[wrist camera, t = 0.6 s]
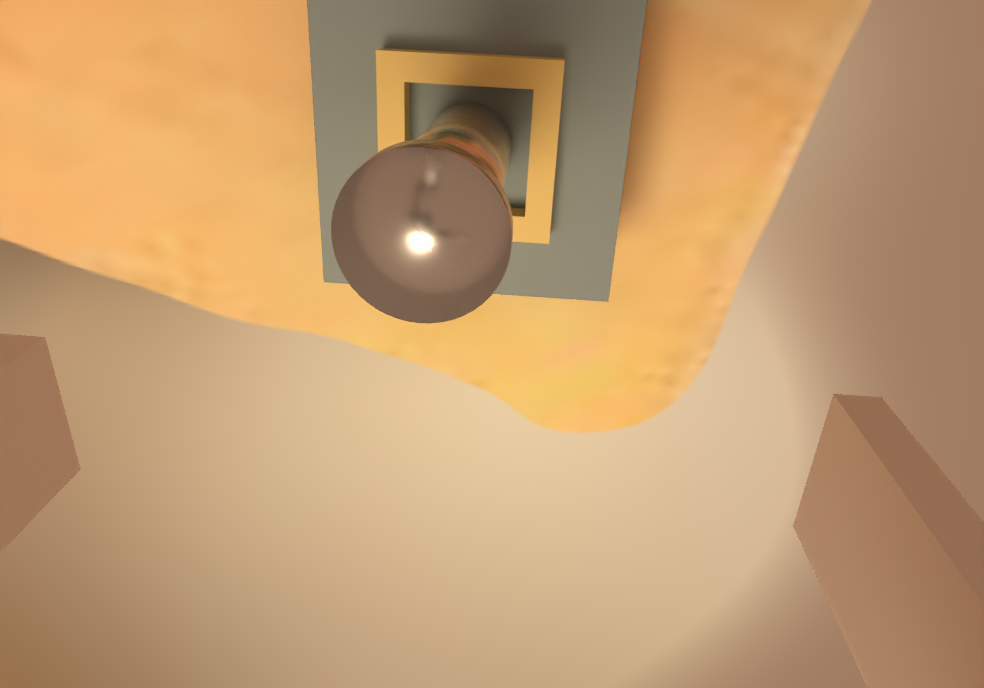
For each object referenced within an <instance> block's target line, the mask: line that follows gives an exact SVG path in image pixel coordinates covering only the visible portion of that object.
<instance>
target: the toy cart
mask: <svg viewBox="0 0 984 688" xmlns="http://www.w3.org/2000/svg"><path fill="white" fill-rule="evenodd" d="M646 4H647V0H307V7H308V24H309V41H310V57H311V74H312V91H313V108H314V125H315V141H316V158H317V175H318V192H319V209H320V225H321V242H322V259H323V276H324V282H330V283H345V284H349V283H348V281H347V280H346V278H345V277H344V275H343V273H342V271H341V269H340V268H339V265H338V263H337V260H336V258H335V254H334V250H333V246H332V238H331V221H332V214H333V209H334V206H335V203H336V200H337V198H338V195H339V193H340V191H341V189H342V188H343V186H344V185H345V183H346V181H347V180H348V179H349V178H350V177H351V175H352V174H353V173H354V172H355V171H356V170H357V169H358V168H359V167H361V166H362V165H363V164H364V163H365V162H366V161H367V160H369V159H370V158H371V157H372V156H373V155H375V154H376V153H378V152H379V151H381V150H383V149H385V148H387V147H389V146H391V145H394V144H397V143H400V142H404V141H410V140H417V139H418V138H419V136H420V135H421V134H422V133H423V132H424V131H425V130H426V129H427V128H428V127H429V126H430V125H431V124H432V123H433V121H434V120H435V119H436V118H437V117H438V116H439V115H440V114H441V113H442V112H443V111H444V110H446V109H447V108H449V107H451V106H453V105H455V104H459V103H464V102H474V103H479V104H483V105H485V106H487V107H489V108H491V109H492V110H494V111H495V112H496V113H497V114H498V115H499V116H500V117H501V118H502V119H503V121H504V122H505V124H506V126H507V128H508V130H509V133H510V137H511V155H510V160H509V164H508V169H507V173H506V178H505V183H504V187H503V189H504V191H505V193H506V195H507V198H508V200H509V204H510V207H511V211H512V217H513V239H512V247H511V254H510V260H509V263H508V267H507V270H506V272H505V274H504V277H503V279H502V281H501V282H500V284H499V286H498V287H497V289H496V290H495V291H494V292H493V294H504V295H519V296H533V297H548V298H562V299H577V300H591V301H606V302H608V300H609V292H610V285H611V277H612V269H613V261H614V254H615V246H616V238H617V230H618V222H619V215H620V207H621V199H622V191H623V184H624V176H625V168H626V160H627V152H628V145H629V137H630V129H631V121H632V113H633V106H634V98H635V90H636V82H637V75H638V67H639V59H640V51H641V43H642V36H643V28H644V20H645V12H646Z"/></svg>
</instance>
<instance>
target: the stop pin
mask: <svg viewBox="0 0 984 688" xmlns="http://www.w3.org/2000/svg"><path fill="white" fill-rule="evenodd" d="M510 155H511V137H510V133H509V130H508V128H507V126H506V124H505V122H504V121H503V119H502V118H501V117H500V116H499V115H498V114H497V113H496V112H495V111H494V110H492V109H491V108H489V107H487V106H485V105H483V104H479V103H474V102H464V103H459V104H455V105H453V106H451V107H449V108H447V109H446V110H444V111H443V112H442V113H441V114H440V115H439V116H438V117H437V118H436V119H435V120H434V121H433V123H432V124H431V125H430V126H429V127H428V128H427V129H426V130H425V131H424V132H423V133H422V134H421V135H420V136H419V138H418V139H417V140H410V141H404V142H400V143H397V144H394V145H391V146H389V147H387V148H385V149H383V150H381V151H379V152H378V153H376V154H375V155H373V156H372V157H371V158H370V159H369V160H367V161H366V162H365V163H364V164H363V165H362V166H361V167H359V168H358V169H357V170H356V171H355V172H354V173H353V174H352V175H351V177H350V178H349V179H348V180H347V181H346V183H345V185H344V186H343V188H342V189H341V191H340V193H339V195H338V198H337V200H336V203H335V206H334V209H333V214H332V221H331V238H332V246H333V250H334V254H335V258H336V260H337V263H338V265H339V268H340V269H341V271H342V273H343V275H344V277H345V278H346V280H347V281H348V283H349V284H350V285H351V287H352V288H353V289H354V290H355V291H356V292H357V293H358V294H359V296H361V297H362V298H363V299H364V300H365V301H366V302H368V303H369V304H370V305H372V306H373V307H375V308H376V309H378V310H380V311H381V312H383V313H385V314H387V315H390V316H392V317H395V318H397V319H401V320H405V321H409V322H416V323H438V322H445V321H449V320H453V319H456V318H458V317H461V316H464V315H466V314H467V313H469V312H471V311H473V310H475V309H476V308H477V307H479V306H480V305H482V304H483V303H484V302H485V301H486V300H487V299H488V298H489V297H490V296H491V295H492V294H493V292H494V291H495V290H496V289H497V287H498V286H499V284H500V282H501V281H502V279H503V277H504V274H505V272H506V270H507V267H508V263H509V260H510V254H511V247H512V239H513V217H512V211H511V207H510V204H509V200H508V198H507V195H506V193H505V191H504V189H503V187H504V183H505V178H506V173H507V169H508V164H509V160H510Z"/></svg>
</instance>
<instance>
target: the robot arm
mask: <svg viewBox="0 0 984 688" xmlns="http://www.w3.org/2000/svg"><path fill="white" fill-rule="evenodd" d="M79 470H80V466H79V462H78V458H77V455H76V451H75V448H74V443H73V440H72V436H71V432H70V428H69V425H68V421H67V417H66V414H65V410H64V406H63V403H62V399H61V395H60V391H59V387H58V384H57V380H56V376H55V373H54V369H53V365H52V361H51V358H50V354H49V350H48V346H47V343H46V339H45V337H36V336H21V335H8V334H0V552H1V551H2V550H3V549H4V548H5V547H6V546H7V545H8V544H9V543H10V542H11V541H12V540H13V539H14V538H15V537H16V536H17V535H18V534H19V533H20V532H21V531H22V530H23V528H24V527H25V526H26V525H27V524H28V523H29V522H30V521H31V520H32V519H33V518H34V517H35V516H36V515H37V514H38V513H39V512H40V511H41V510H42V509H43V508H44V507H45V506H46V505H47V504H48V502H49V501H50V500H51V499H52V498H53V497H54V496H55V495H56V494H57V493H58V492H59V491H60V490H61V489H62V488H63V487H64V486H65V485H66V484H67V483H68V482H69V481H70V480H71V479H72V478H73V477H74V475H76V474H77V472H78V471H79ZM793 527H794V529H795V531H796V533H797V535H798V538H799V540H800V542H801V544H802V546H803V548H804V551H805V553H806V555H807V557H808V559H809V561H810V564H811V566H812V568H813V570H814V572H815V574H816V577H817V579H818V581H819V583H820V585H821V588H822V590H823V592H824V594H825V596H826V598H827V601H828V603H829V605H830V607H831V609H832V612H833V614H834V616H835V618H836V620H837V622H838V625H839V627H840V629H841V631H842V633H843V636H844V638H845V640H846V642H847V644H848V646H849V649H850V651H851V653H852V655H853V657H854V659H855V662H856V664H857V666H858V668H859V670H860V673H861V675H862V677H863V679H864V681H865V684H866V686H867V688H984V522H983V520H982V519H981V518H980V517H979V516H978V514H977V513H976V512H975V511H974V509H973V508H972V507H971V506H970V505H969V503H968V502H967V501H966V500H965V498H964V497H963V496H962V495H961V494H960V492H959V491H958V490H957V489H956V487H955V486H954V485H953V484H952V483H951V481H950V480H949V479H948V478H947V476H946V475H945V474H944V473H943V472H942V471H941V469H940V468H939V467H938V465H937V464H936V463H935V462H934V461H933V459H932V458H931V457H930V456H929V454H928V453H927V452H926V451H925V450H924V448H923V447H922V446H921V445H920V444H919V442H918V441H917V440H916V439H915V437H914V436H913V435H912V434H911V432H910V431H909V430H908V429H907V428H906V426H905V425H904V424H903V423H902V421H901V420H900V419H899V418H898V417H897V415H896V414H895V413H894V412H893V411H892V409H891V408H890V407H889V406H888V405H887V403H886V402H885V401H884V400H883V398H882V397H870V396H855V395H842V394H833V397H832V400H831V404H830V407H829V411H828V414H827V417H826V420H825V423H824V427H823V430H822V433H821V437H820V440H819V443H818V446H817V450H816V453H815V456H814V459H813V463H812V466H811V469H810V472H809V476H808V479H807V482H806V486H805V489H804V492H803V496H802V499H801V502H800V505H799V509H798V512H797V515H796V519H795V522H794V525H793Z"/></svg>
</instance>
